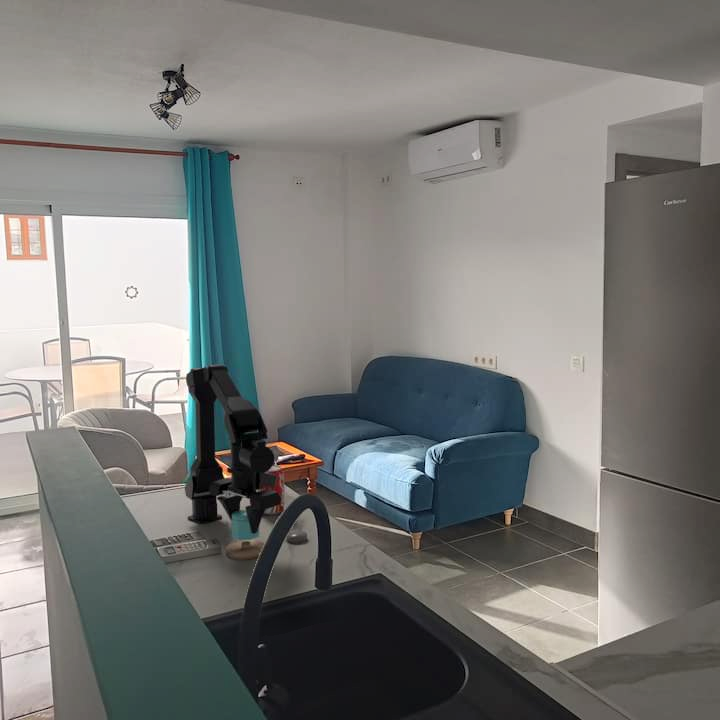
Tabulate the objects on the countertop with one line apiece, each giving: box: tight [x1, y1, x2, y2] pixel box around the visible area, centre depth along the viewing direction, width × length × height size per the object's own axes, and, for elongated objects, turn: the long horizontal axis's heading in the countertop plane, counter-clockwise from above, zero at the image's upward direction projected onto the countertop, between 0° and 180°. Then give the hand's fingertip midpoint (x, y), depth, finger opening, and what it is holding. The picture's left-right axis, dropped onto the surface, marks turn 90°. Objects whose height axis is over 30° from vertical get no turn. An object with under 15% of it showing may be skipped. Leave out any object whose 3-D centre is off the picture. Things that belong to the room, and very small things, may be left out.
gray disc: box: [285, 530, 308, 544], centre depth 171 cm, size 5×5×2 cm
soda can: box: [257, 464, 285, 516], centre depth 191 cm, size 7×7×12 cm
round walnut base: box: [225, 539, 265, 561], centre depth 163 cm, size 9×9×2 cm
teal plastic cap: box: [230, 508, 260, 541], centre depth 162 cm, size 6×6×5 cm
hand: (245, 529), depth 163 cm, fingers closed on teal plastic cap, 6 cm apart
